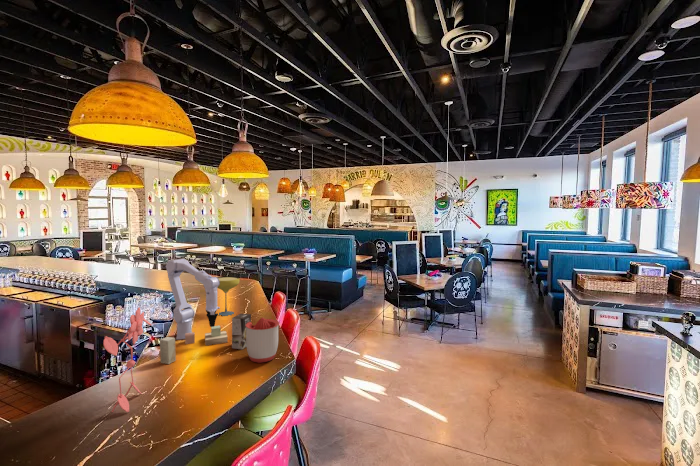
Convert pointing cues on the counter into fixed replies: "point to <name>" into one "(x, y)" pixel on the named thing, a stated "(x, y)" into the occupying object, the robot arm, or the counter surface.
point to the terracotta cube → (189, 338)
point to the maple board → (216, 338)
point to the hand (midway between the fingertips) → (211, 324)
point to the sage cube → (215, 331)
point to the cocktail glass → (227, 289)
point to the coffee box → (239, 330)
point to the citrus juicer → (262, 340)
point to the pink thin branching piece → (113, 349)
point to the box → (167, 350)
